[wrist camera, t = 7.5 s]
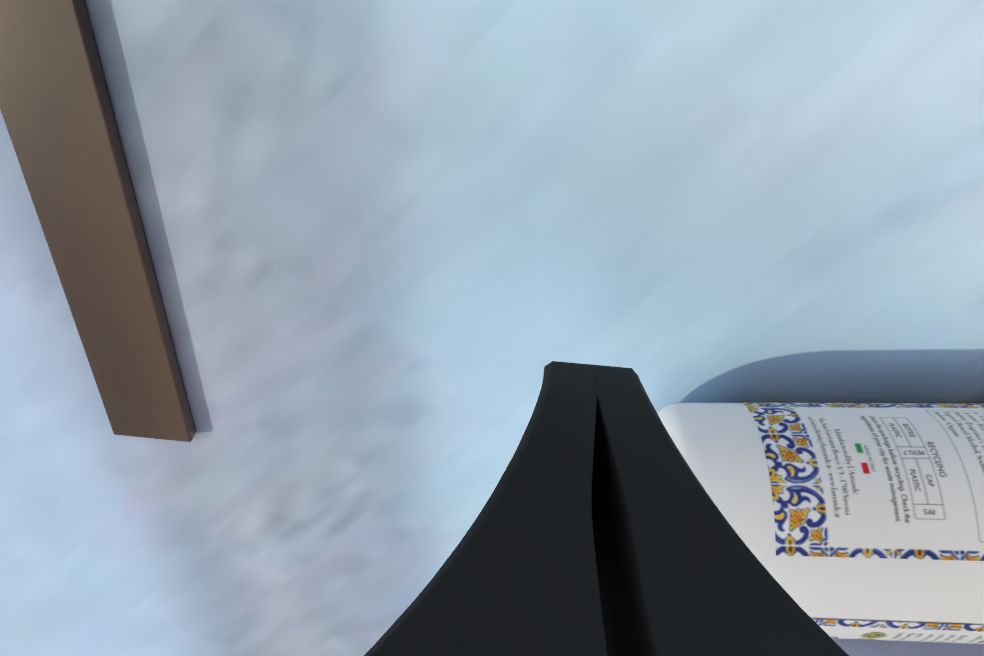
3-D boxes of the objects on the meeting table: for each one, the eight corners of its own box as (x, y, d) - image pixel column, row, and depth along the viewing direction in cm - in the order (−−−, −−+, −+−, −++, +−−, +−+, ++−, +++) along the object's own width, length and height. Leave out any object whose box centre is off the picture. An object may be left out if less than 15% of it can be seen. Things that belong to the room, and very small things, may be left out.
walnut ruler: (-44, -502, 13) (-63, -513, 13) (196, 433, 27) (190, 442, 26) (-197, -510, 13) (-222, -521, 13) (120, 426, 27) (113, 435, 27)
